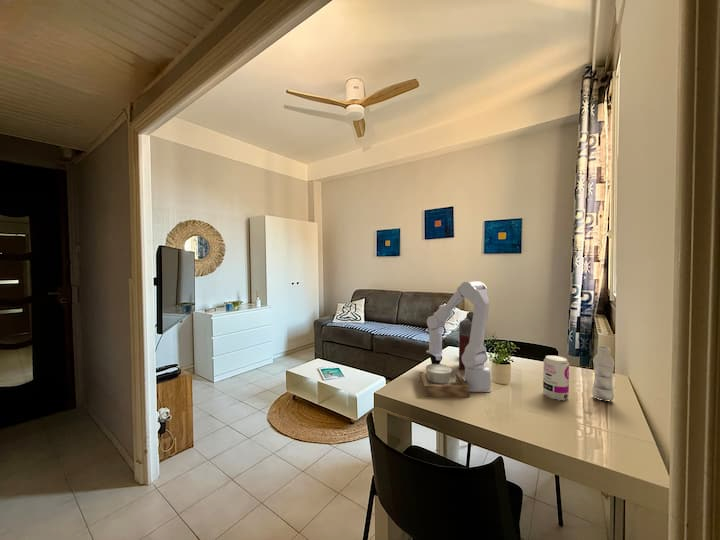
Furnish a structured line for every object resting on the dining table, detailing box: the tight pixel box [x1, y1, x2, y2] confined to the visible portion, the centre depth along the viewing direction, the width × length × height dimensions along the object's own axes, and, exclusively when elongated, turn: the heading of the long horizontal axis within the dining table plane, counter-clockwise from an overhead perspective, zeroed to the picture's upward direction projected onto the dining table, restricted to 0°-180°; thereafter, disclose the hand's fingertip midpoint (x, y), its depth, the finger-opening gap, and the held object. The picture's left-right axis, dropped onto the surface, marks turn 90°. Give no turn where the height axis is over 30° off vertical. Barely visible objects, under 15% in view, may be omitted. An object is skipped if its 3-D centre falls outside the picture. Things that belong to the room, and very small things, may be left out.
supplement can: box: [542, 355, 570, 401], centre depth 116 cm, size 8×8×15 cm
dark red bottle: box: [458, 310, 474, 372], centre depth 146 cm, size 9×11×28 cm
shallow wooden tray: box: [419, 371, 470, 398], centre depth 124 cm, size 17×14×4 cm
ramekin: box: [425, 363, 453, 385], centre depth 133 cm, size 11×11×5 cm
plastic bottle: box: [591, 345, 616, 401], centre depth 113 cm, size 6×7×20 cm
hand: (435, 370), depth 140 cm, fingers closed
